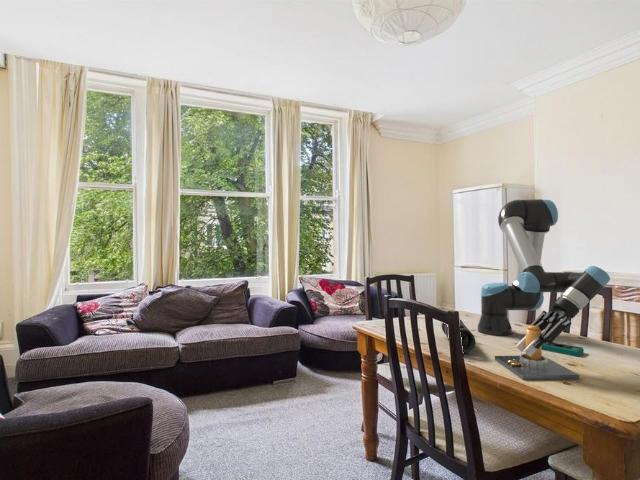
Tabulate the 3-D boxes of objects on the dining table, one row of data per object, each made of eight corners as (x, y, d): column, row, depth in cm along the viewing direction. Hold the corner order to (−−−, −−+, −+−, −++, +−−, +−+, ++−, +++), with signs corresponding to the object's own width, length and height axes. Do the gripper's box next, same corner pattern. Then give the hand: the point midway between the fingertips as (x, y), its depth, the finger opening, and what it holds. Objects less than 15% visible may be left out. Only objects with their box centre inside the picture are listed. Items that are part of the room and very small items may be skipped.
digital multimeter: (543, 346, 161) (543, 339, 161) (584, 354, 150) (584, 346, 150) (536, 349, 156) (536, 342, 156) (578, 358, 145) (578, 350, 145)
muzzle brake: (450, 354, 149) (450, 328, 149) (440, 336, 177) (440, 314, 177) (476, 355, 148) (476, 329, 148) (462, 337, 175) (462, 314, 175)
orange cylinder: (523, 358, 135) (522, 325, 135) (536, 358, 135) (536, 324, 135) (530, 363, 130) (530, 328, 130) (544, 363, 130) (544, 328, 130)
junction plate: (494, 359, 142) (494, 349, 142) (542, 359, 142) (542, 348, 142) (523, 379, 122) (522, 367, 122) (579, 379, 122) (578, 367, 122)
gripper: (595, 316, 123) (545, 367, 123) (561, 306, 141) (517, 351, 141) (579, 300, 123) (528, 351, 123) (547, 292, 141) (502, 336, 141)
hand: (522, 351), depth 132 cm, fingers closed on orange cylinder, 5 cm apart
